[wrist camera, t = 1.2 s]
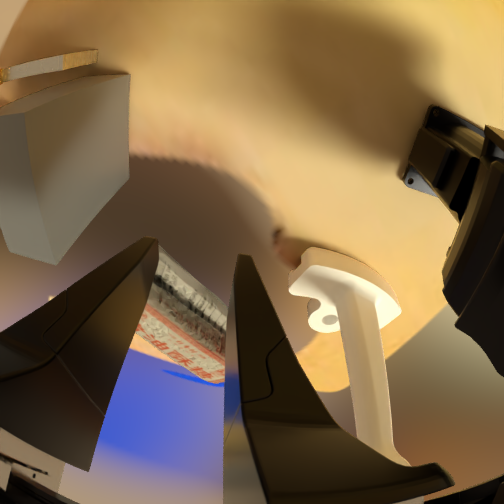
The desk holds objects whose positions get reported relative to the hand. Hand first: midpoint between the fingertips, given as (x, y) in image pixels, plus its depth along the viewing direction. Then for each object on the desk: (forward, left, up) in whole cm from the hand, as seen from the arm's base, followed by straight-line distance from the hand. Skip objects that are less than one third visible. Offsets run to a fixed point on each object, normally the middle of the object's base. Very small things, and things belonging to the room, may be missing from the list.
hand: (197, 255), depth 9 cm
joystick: (-11, +12, -12) cm, 20 cm away
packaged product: (+3, +20, -13) cm, 24 cm away
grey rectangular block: (+10, 0, -12) cm, 16 cm away
